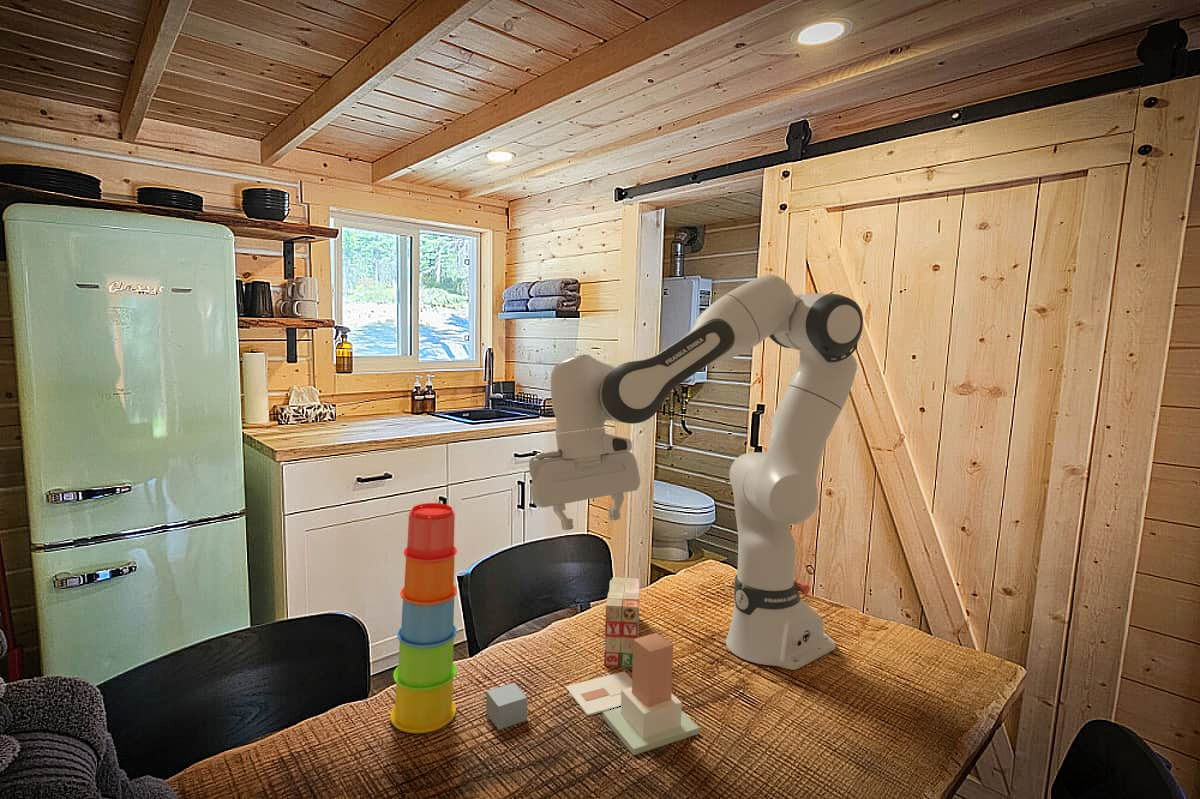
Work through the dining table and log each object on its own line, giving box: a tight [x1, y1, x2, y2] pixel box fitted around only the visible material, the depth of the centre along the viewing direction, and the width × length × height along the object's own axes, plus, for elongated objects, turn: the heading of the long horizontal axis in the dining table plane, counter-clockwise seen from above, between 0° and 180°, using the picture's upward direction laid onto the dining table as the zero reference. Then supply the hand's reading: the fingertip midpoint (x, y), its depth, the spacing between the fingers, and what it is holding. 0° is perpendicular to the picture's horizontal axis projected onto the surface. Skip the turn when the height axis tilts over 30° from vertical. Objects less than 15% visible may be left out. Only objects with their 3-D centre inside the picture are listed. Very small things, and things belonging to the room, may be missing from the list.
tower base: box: [602, 687, 701, 756], centre depth 98 cm, size 12×10×5 cm
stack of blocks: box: [603, 576, 641, 669], centre depth 126 cm, size 21×6×12 cm, turn 175°
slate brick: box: [485, 682, 528, 731], centre depth 100 cm, size 5×5×4 cm
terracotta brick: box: [631, 632, 674, 708], centre depth 97 cm, size 4×4×9 cm
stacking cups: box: [389, 502, 458, 734], centre depth 98 cm, size 10×10×35 cm
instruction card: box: [565, 670, 632, 717], centre depth 107 cm, size 12×9×1 cm
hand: (591, 524), depth 109 cm, fingers open, 8 cm apart
